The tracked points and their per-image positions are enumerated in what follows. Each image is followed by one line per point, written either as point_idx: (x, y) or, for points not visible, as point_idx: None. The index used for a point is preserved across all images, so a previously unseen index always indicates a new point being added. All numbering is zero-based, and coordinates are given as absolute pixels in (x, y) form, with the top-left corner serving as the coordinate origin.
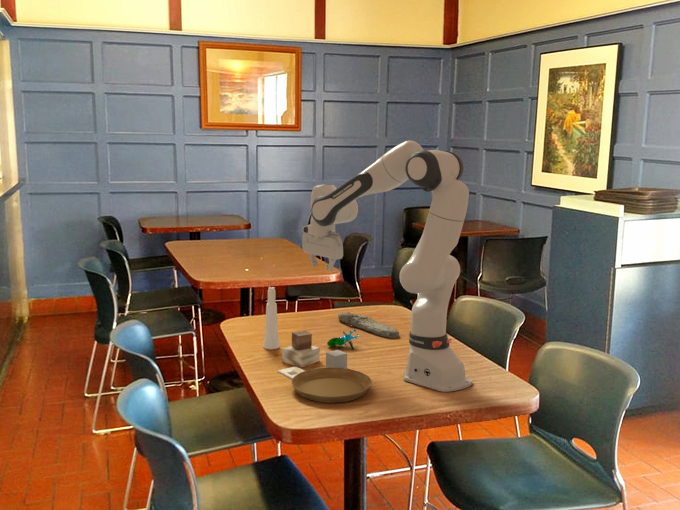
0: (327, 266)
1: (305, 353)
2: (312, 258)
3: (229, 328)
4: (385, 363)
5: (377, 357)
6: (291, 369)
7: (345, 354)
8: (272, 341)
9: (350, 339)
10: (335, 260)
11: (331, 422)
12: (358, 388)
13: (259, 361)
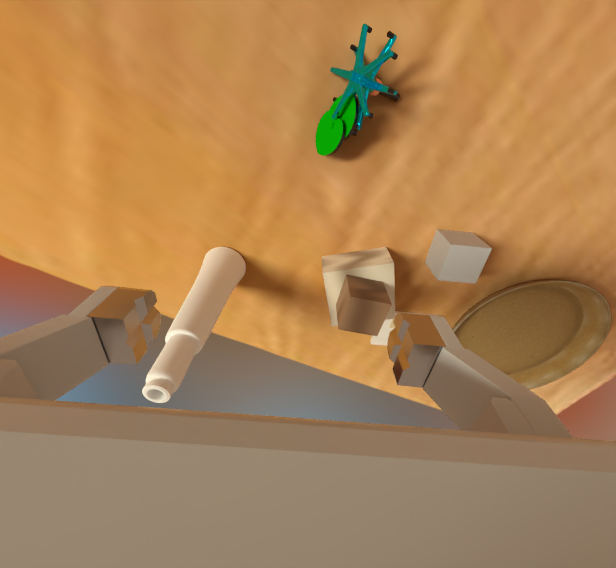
0: (404, 376)
1: (394, 308)
2: (63, 381)
3: (11, 249)
4: (556, 121)
5: (508, 92)
6: (387, 326)
7: (488, 252)
8: (237, 283)
9: (374, 79)
10: (548, 411)
11: (572, 396)
12: (564, 305)
13: (298, 333)
